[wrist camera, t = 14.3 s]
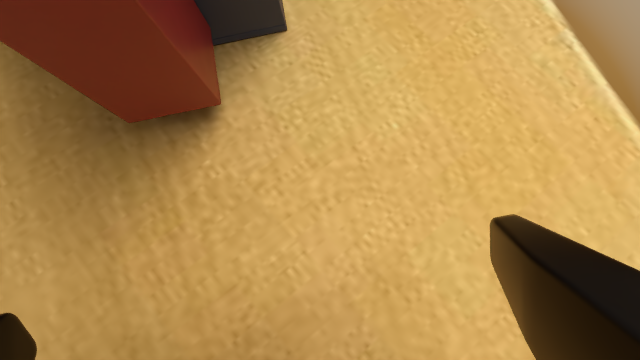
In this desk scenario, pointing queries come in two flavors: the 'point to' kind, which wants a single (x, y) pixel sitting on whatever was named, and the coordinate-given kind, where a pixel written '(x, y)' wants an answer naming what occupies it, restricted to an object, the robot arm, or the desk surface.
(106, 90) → the red post with hook
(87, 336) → the desk surface
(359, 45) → the desk surface
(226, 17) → the storage box
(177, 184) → the desk surface
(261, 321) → the desk surface
